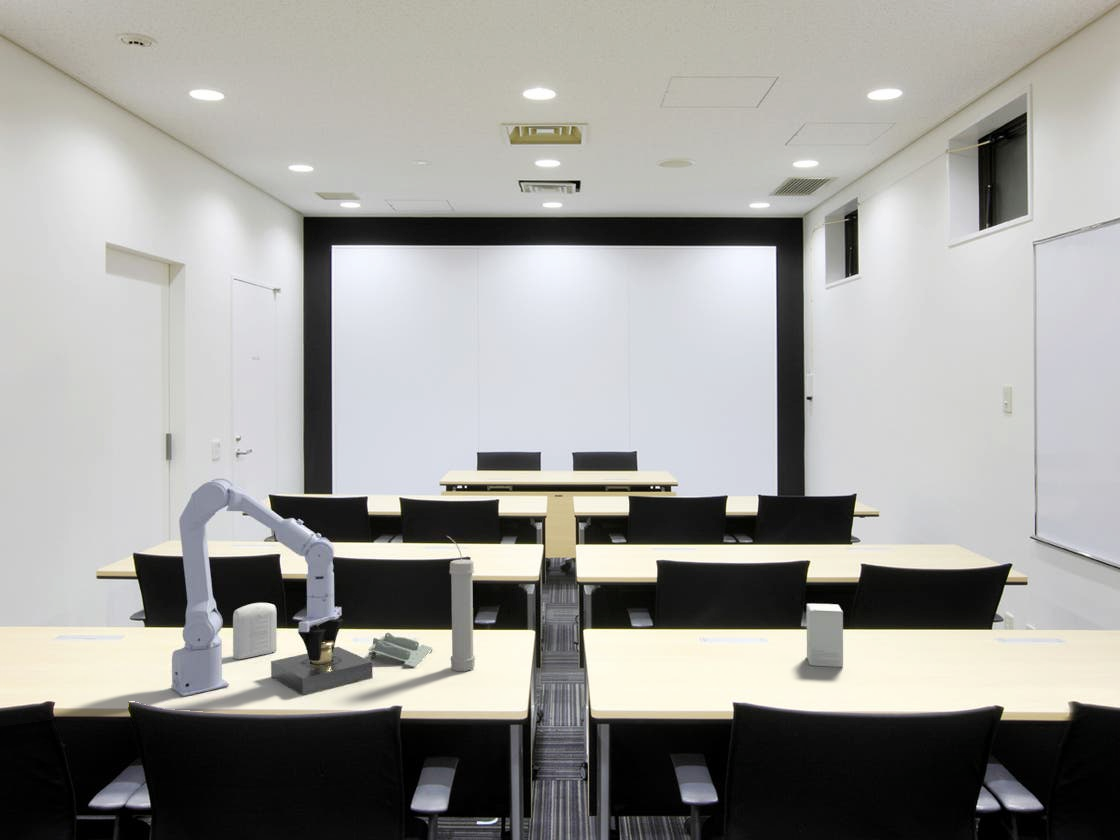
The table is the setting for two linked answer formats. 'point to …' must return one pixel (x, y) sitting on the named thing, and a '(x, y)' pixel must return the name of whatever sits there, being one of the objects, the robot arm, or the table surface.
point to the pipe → (462, 614)
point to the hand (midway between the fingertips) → (321, 656)
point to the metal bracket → (399, 649)
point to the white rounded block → (254, 630)
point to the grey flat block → (321, 671)
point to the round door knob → (325, 653)
